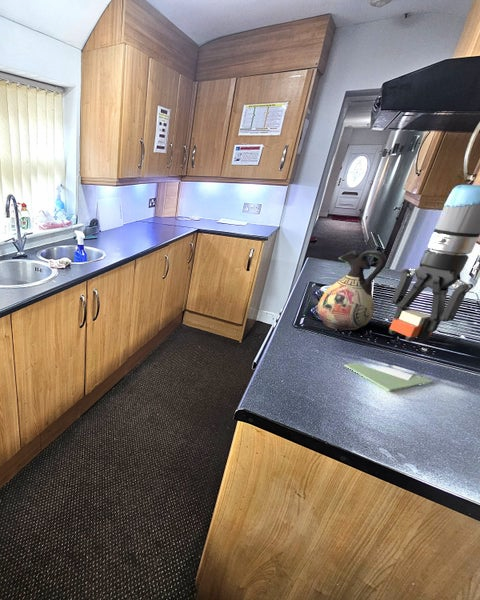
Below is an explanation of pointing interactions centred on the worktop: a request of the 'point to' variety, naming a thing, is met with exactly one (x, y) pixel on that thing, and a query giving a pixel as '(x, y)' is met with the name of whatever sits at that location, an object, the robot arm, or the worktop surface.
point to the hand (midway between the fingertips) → (408, 335)
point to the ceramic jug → (351, 294)
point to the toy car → (409, 324)
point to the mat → (386, 378)
